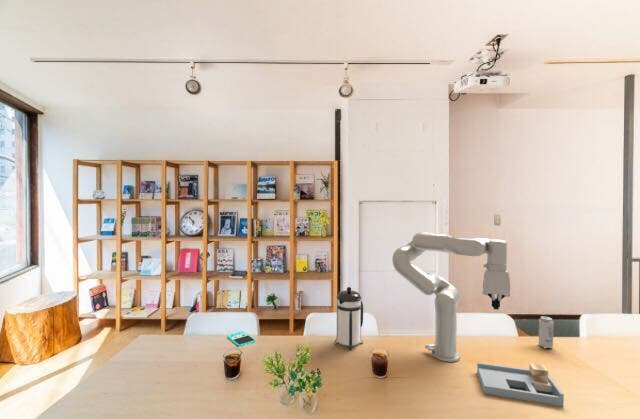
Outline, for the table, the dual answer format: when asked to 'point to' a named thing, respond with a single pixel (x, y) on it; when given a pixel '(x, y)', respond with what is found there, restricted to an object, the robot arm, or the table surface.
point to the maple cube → (538, 373)
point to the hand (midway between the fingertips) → (495, 308)
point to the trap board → (517, 384)
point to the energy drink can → (546, 332)
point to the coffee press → (349, 318)
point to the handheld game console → (241, 338)
